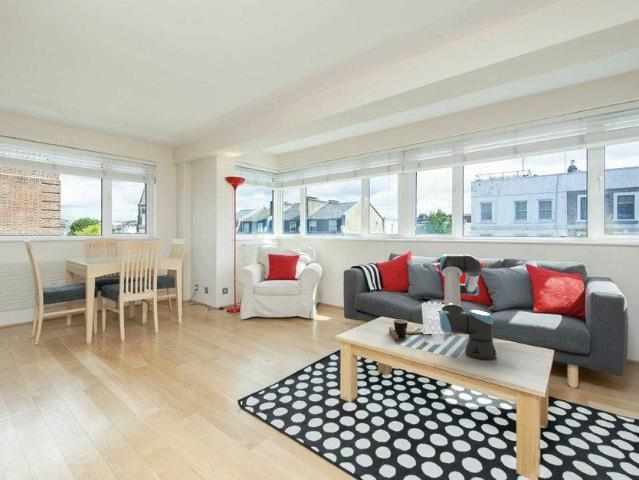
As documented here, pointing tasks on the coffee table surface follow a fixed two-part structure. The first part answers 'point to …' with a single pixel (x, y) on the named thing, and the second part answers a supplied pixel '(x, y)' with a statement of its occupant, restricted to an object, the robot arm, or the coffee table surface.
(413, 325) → the coffee table surface
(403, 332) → the coffee mug
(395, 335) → the brown uneven shapes
